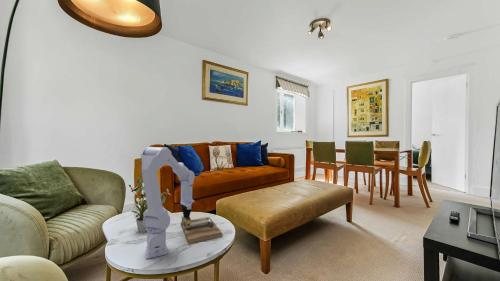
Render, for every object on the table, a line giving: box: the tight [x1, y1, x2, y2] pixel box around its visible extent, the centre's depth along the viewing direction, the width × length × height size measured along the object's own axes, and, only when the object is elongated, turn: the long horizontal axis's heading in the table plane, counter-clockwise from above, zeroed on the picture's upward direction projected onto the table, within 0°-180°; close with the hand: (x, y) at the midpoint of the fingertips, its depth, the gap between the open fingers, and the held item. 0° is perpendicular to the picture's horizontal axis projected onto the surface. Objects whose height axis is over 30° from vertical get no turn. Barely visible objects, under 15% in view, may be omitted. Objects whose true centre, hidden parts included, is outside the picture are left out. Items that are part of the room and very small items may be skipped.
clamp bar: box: [186, 218, 213, 228], centre depth 104 cm, size 4×13×2 cm, turn 118°
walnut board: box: [180, 215, 223, 245], centre depth 104 cm, size 22×16×5 cm
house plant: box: [130, 198, 148, 233], centre depth 102 cm, size 14×14×16 cm
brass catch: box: [185, 217, 192, 225], centre depth 102 cm, size 5×2×2 cm, turn 28°
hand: (186, 218), depth 106 cm, fingers closed
